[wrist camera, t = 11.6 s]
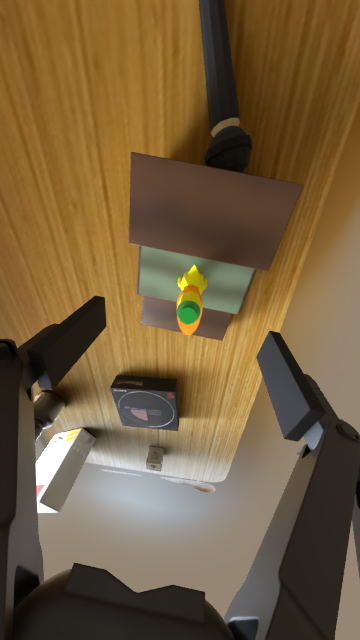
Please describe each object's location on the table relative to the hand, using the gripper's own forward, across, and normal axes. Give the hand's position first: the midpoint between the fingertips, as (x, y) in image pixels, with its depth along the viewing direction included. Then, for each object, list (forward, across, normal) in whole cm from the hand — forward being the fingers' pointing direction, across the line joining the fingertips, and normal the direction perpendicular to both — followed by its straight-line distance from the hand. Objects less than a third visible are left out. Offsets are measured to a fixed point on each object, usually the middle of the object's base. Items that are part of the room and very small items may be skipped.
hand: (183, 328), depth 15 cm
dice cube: (+21, 0, -69) cm, 72 cm away
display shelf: (+21, 0, -1) cm, 21 cm away
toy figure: (+13, 0, 0) cm, 13 cm away
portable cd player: (+21, -5, -40) cm, 46 cm away
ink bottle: (+21, -36, -51) cm, 66 cm away
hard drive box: (+21, -31, -71) cm, 80 cm away
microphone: (+22, -1, +21) cm, 30 cm away
